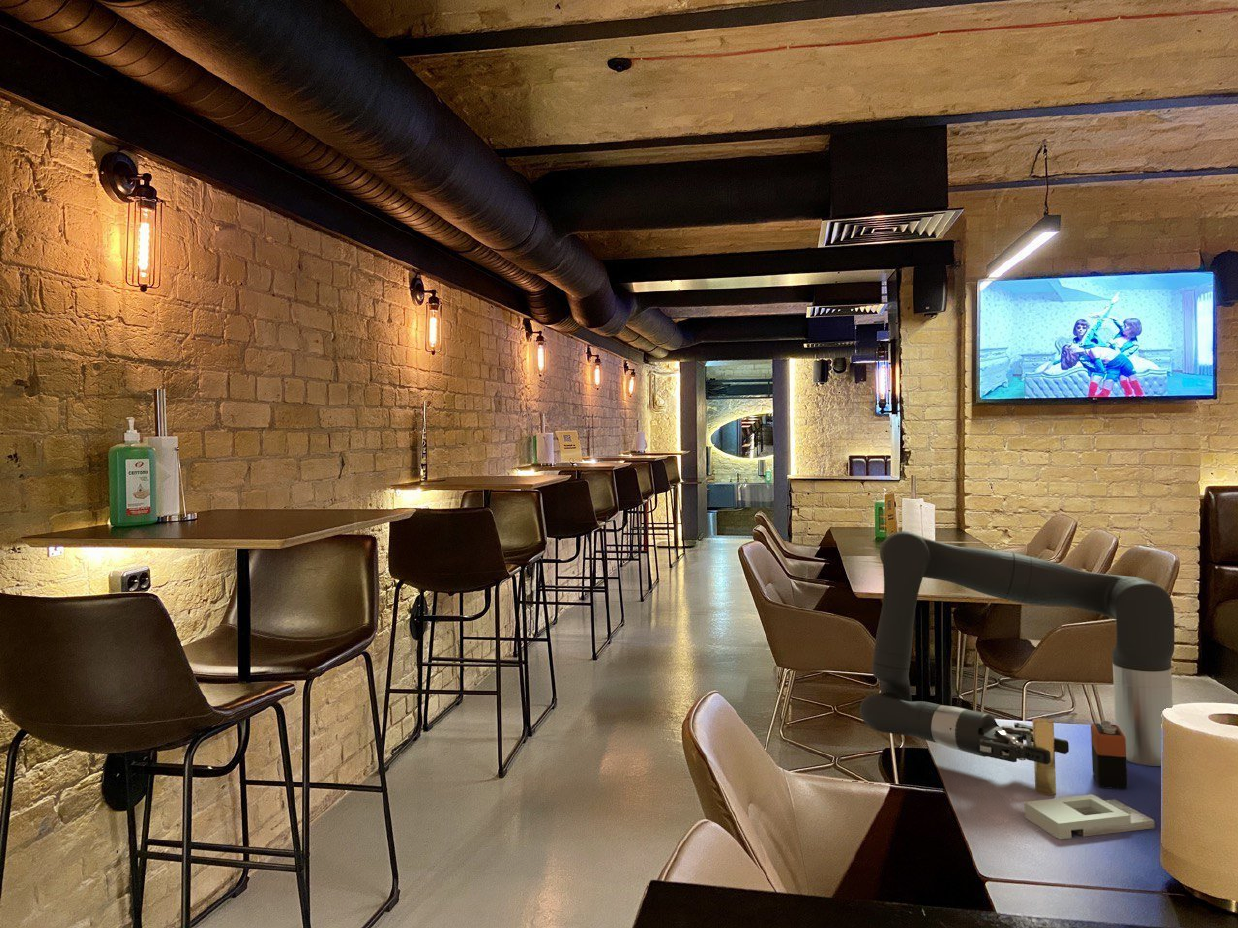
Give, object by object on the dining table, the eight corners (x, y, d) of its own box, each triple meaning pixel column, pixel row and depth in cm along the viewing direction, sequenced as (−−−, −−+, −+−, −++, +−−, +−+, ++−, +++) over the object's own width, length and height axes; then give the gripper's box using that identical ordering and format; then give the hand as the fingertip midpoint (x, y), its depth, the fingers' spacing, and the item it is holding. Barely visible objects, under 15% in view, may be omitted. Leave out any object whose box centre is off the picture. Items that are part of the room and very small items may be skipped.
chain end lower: (1083, 836, 123) (1083, 828, 123) (1047, 814, 131) (1047, 806, 131) (1154, 827, 124) (1154, 820, 124) (1115, 806, 132) (1114, 798, 132)
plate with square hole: (1092, 808, 132) (1092, 794, 132) (1131, 830, 124) (1130, 814, 124) (1024, 816, 130) (1024, 801, 130) (1059, 839, 122) (1058, 823, 122)
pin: (1047, 786, 141) (1045, 717, 141) (1060, 794, 138) (1057, 723, 138) (1031, 788, 141) (1028, 718, 141) (1043, 795, 137) (1040, 724, 137)
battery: (1098, 787, 140) (1096, 729, 140) (1092, 773, 146) (1089, 717, 146) (1128, 790, 138) (1126, 731, 138) (1120, 775, 145) (1118, 719, 145)
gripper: (942, 718, 146) (1038, 740, 133) (982, 701, 155) (1076, 720, 142) (943, 760, 146) (1040, 786, 133) (984, 740, 155) (1078, 763, 142)
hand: (1058, 752), depth 137 cm, fingers open, 6 cm apart
